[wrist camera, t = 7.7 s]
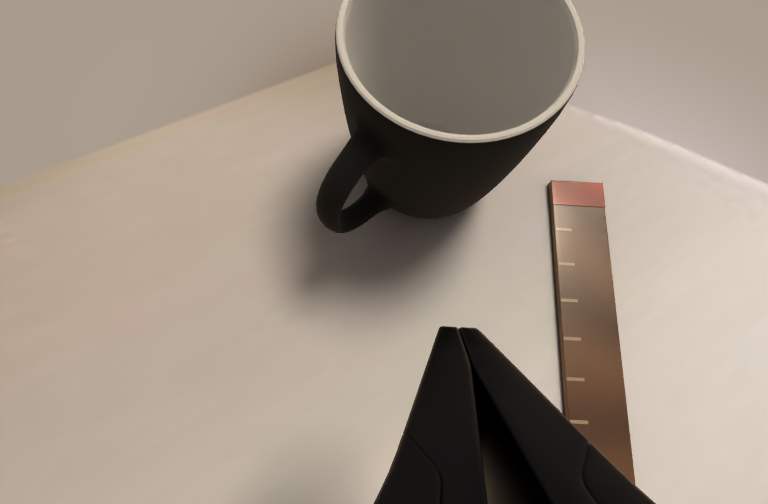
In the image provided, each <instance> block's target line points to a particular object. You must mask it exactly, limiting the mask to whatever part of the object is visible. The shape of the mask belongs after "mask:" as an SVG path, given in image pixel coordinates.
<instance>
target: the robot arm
mask: <svg viewBox="0 0 768 504" xmlns="http://www.w3.org/2000/svg"><path fill="white" fill-rule="evenodd" d="M374 504H655V503H654V502H653V501H652V500H651V499H650V498H649V497H648V496H647V495H645V494H644V493H643V492H642V491H641V490H640V489H639V488H638V487H636V486H635V485H634V484H633V483H632V482H631V481H630V480H629V479H628V478H627V477H626V476H625V475H624V474H623V473H622V472H621V471H620V470H619V469H618V468H617V467H616V466H614V465H613V464H612V463H611V462H610V461H609V460H608V459H607V458H606V457H605V456H604V455H603V454H602V453H601V452H600V451H599V450H598V449H597V448H596V447H595V446H594V445H593V444H589V440H588V439H587V438H586V437H585V436H584V435H583V434H582V433H581V432H580V431H579V430H578V429H577V428H576V427H575V426H574V425H573V424H572V423H571V422H570V421H569V420H568V419H567V418H566V417H565V416H564V415H563V414H562V413H561V412H560V411H559V410H558V409H557V408H556V407H555V406H554V405H553V404H552V403H551V402H550V401H549V400H548V399H547V398H546V397H545V396H544V395H543V394H542V393H541V392H540V391H539V390H538V389H537V388H536V387H535V386H534V385H533V384H532V383H531V382H530V381H529V380H528V379H527V378H526V377H525V376H524V375H523V374H522V373H521V372H520V371H519V370H518V369H517V368H516V367H515V366H514V365H513V364H512V363H511V362H510V361H509V360H508V359H507V358H506V357H505V356H504V355H503V354H502V353H501V352H500V351H499V350H498V349H497V348H496V347H495V346H494V345H493V344H492V343H491V342H490V341H489V340H488V339H487V338H486V337H485V336H484V335H483V334H482V333H481V332H480V331H479V330H478V329H476V328H463V327H461V328H459V329H458V328H456V327H445V326H441V327H440V328H439V330H438V333H437V336H436V339H435V342H434V345H433V348H432V351H431V354H430V356H429V359H428V362H427V365H426V368H425V371H424V374H423V377H422V380H421V383H420V386H419V389H418V392H417V394H416V397H415V400H414V403H413V406H412V409H411V412H410V415H409V418H408V421H407V424H406V427H405V429H404V432H403V435H402V438H401V440H400V443H399V446H398V449H397V452H396V455H395V457H394V460H393V462H392V465H391V468H390V470H389V473H388V475H387V477H386V479H385V481H384V483H383V485H382V487H381V490H380V492H379V494H378V496H377V498H376V500H375V502H374Z"/></svg>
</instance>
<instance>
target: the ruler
mask: <svg viewBox="0 0 768 504" xmlns="http://www.w3.org/2000/svg"><path fill="white" fill-rule="evenodd" d="M549 197H550V211H551V225H552V239H553V253H554V267H555V282H556V296H557V310H558V324H559V338H560V352H561V367H562V381H563V395H564V409H565V417H566V418H567V419H568V420H569V421H570V422H571V423H572V424H573V425H574V426H575V427H576V428H577V429H578V430H579V431H580V432H581V433H582V434H583V435H584V436H585V437H586V438H587V439H588V440H589V444H593V445H594V446H595V447H596V448H597V449H598V450H599V451H600V452H601V453H602V454H603V455H604V456H605V457H606V458H607V459H608V460H609V461H610V462H611V463H612V464H613V465H614V466H616V467H617V468H618V469H619V470H620V471H621V472H622V473H623V474H624V475H625V476H626V477H627V478H628V479H629V480H630V481H631V482H632V483H633V484H634V485H635V478H634V469H633V460H632V451H631V442H630V433H629V424H628V415H627V406H626V397H625V388H624V379H623V370H622V361H621V352H620V343H619V334H618V325H617V316H616V307H615V298H614V289H613V280H612V271H611V262H610V253H609V244H608V235H607V226H606V217H605V200H604V191H603V183H589V182H572V181H556V180H551V182H550V183H549Z"/></svg>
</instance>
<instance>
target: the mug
mask: <svg viewBox="0 0 768 504" xmlns="http://www.w3.org/2000/svg"><path fill="white" fill-rule="evenodd" d="M335 45H336V61H337V69H338V76H339V83H340V88H341V94H342V100H343V105H344V110H345V115H346V119H347V123H348V127H349V131H350V135H351V138H350V140H349V141H348V143H347V144H346V146H345V147H344V149H343V150H342V151H341V153H340V154H339V156H338V157H337V158H336V160H335V161H334V163H333V164H332V166H331V167H330V169H329V171H328V172H327V174H326V176H325V178H324V180H323V182H322V184H321V187H320V189H319V193H318V196H317V202H316V209H317V214H318V217H319V219H320V221H321V222H322V223H323V224H324V226H325V227H327V228H328V229H330V230H331V231H334V232H336V233H346V232H350V231H352V230H354V229H356V228H358V227H360V226H361V225H363V224H364V223H366V222H367V221H368V220H370V219H371V218H372V217H374V216H375V215H377V214H378V213H380V212H382V211H383V210H386V209H389V208H393V209H395V210H397V211H399V212H401V213H404V214H406V215H409V216H413V217H417V218H428V219H432V218H442V217H446V216H450V215H453V214H456V213H458V212H460V211H462V210H464V209H466V208H468V207H469V206H471V205H473V204H474V203H476V202H477V201H478V200H480V199H481V198H482V197H484V196H485V195H486V194H488V193H489V192H490V191H491V190H492V189H493V188H494V187H496V186H497V185H498V184H499V183H500V182H501V181H502V180H503V179H504V178H505V177H506V176H507V175H508V174H509V173H510V172H511V171H512V170H513V169H514V168H515V167H516V166H517V165H518V164H519V163H520V162H521V160H522V159H523V158H524V157H525V156H526V155H527V154H528V153H529V151H530V150H531V149H532V148H533V147H534V146H535V144H536V143H537V142H538V141H539V140H540V139H541V137H542V136H543V135H544V134H545V133H546V131H547V130H548V129H549V128H550V126H551V125H552V124H553V123H554V121H555V120H556V119H557V117H558V116H559V114H560V113H561V111H562V110H563V108H564V107H565V105H566V104H567V102H568V101H569V99H570V98H571V96H572V95H573V92H574V91H575V89H576V87H577V84H578V82H579V79H580V77H581V74H582V70H583V65H584V59H585V40H584V33H583V29H582V25H581V22H580V20H579V17H578V15H577V12H576V10H575V8H574V6H573V4H572V2H571V1H570V0H342V2H341V5H340V8H339V11H338V15H337V21H336V29H335ZM363 174H364V175H365V177H366V180H367V184H368V185H367V188H366V190H365V192H364V193H363V195H362V196H361V197H360V198H359V199H358V200H357V201H356V202H354V203H353V204H352V205H350V206H348V207H347V208H345V209H343V210H342V208H343V205H344V203H345V201H346V199H347V197H348V196H349V194H350V192H351V191H352V189H353V188H354V186H355V185H356V183H357V182H358V181H359V179H360V178H361V177H362V175H363Z"/></svg>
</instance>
